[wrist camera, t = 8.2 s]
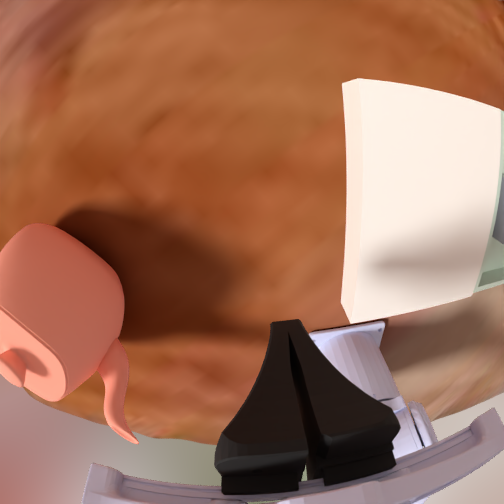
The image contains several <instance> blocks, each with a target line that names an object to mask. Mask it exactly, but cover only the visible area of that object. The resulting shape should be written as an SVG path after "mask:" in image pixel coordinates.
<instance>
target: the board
mask: <svg viewBox="0 0 504 504" xmlns="http://www.w3.org/2000/svg"><path fill="white" fill-rule="evenodd" d="M342 90H343V101H344V115H345V133H346V162H347V208H346V238H345V256H344V271H343V283H342V294H341V304H342V306H343V308H344V310H345V312H346V315H347V317H348V319H349V321H350V323H351V324H352V323H358V322H363V321H369V320H374V319H379V318H384V317H389V316H394V315H399V314H403V313H408V312H412V311H417V310H421V309H425V308H429V307H433V306H437V305H441V304H445V303H449V302H453V301H456V300H460V299H463V298H467V297H470V296H472V294H473V291H474V288H475V285H476V282H477V279H478V276H479V272H480V269H481V266H482V262H483V258H484V255H485V251H486V247H487V243H488V239H489V234H490V229H491V225H492V219H493V214H494V208H495V202H496V195H497V187H498V178H499V167H500V152H501V109H498V108H495V107H492V106H490V105H487V104H484V103H481V102H477V101H474V100H471V99H468V98H464V97H461V96H457V95H453V94H449V93H445V92H441V91H437V90H432V89H428V88H423V87H418V86H412V85H406V84H400V83H394V82H386V81H378V80H369V79H359V78H358V79H355V80H351V81H348V82H345V83H342Z"/></svg>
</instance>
